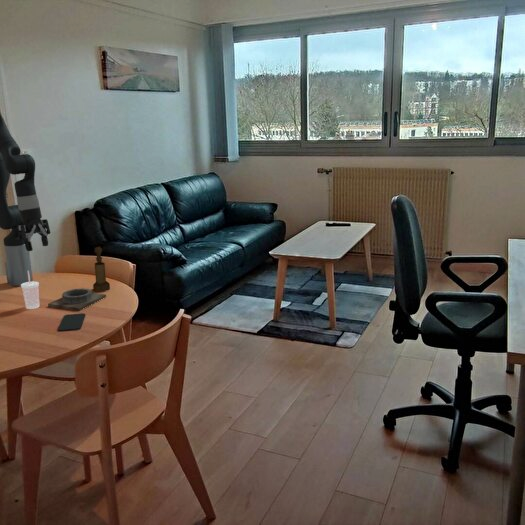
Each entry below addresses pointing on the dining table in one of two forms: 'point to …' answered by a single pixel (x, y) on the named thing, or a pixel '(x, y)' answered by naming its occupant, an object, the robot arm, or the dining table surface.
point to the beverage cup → (31, 293)
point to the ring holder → (76, 299)
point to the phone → (71, 322)
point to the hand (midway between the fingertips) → (37, 248)
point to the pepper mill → (100, 273)
